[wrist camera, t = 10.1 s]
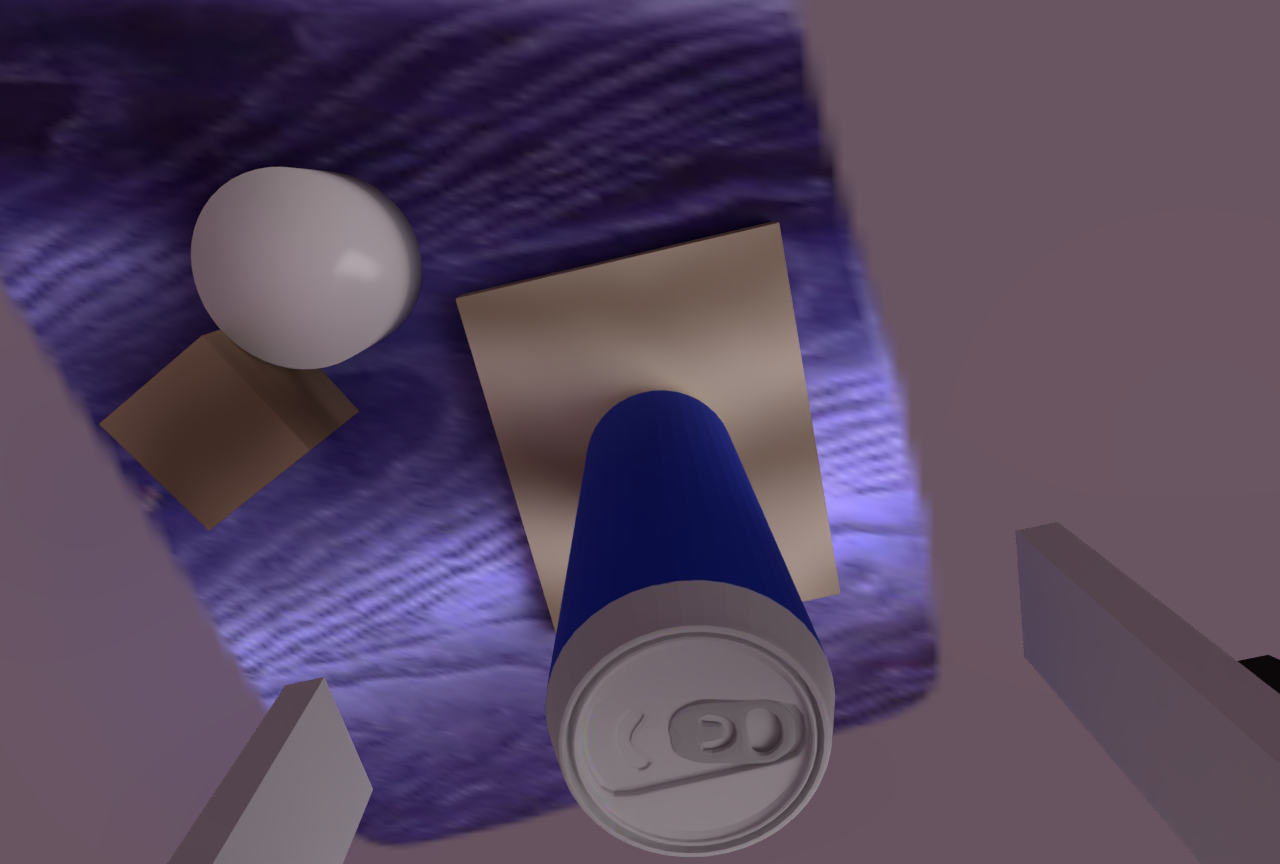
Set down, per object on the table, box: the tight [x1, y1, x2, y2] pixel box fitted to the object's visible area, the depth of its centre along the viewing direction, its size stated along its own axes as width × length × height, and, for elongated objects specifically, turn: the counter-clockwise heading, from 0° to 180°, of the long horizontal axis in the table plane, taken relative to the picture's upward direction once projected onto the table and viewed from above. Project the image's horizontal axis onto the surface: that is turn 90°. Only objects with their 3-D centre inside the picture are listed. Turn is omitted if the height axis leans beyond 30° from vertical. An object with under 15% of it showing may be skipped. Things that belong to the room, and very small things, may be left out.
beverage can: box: [545, 390, 835, 857], centre depth 20 cm, size 5×5×15 cm
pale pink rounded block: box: [191, 167, 422, 369], centre depth 24 cm, size 6×6×4 cm
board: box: [456, 222, 840, 632], centre depth 27 cm, size 14×11×1 cm
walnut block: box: [100, 329, 359, 530], centre depth 25 cm, size 4×4×4 cm
